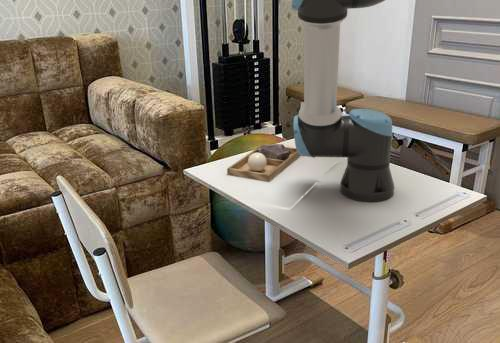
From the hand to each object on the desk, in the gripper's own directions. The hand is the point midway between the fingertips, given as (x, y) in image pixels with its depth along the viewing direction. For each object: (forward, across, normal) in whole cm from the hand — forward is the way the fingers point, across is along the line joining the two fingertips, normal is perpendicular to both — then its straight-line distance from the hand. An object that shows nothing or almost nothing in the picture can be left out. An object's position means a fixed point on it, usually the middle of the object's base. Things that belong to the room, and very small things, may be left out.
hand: (322, 68), depth 168 cm
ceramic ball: (+28, +30, -10) cm, 42 cm away
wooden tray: (+29, +24, -10) cm, 39 cm away
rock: (+28, +18, -10) cm, 34 cm away
